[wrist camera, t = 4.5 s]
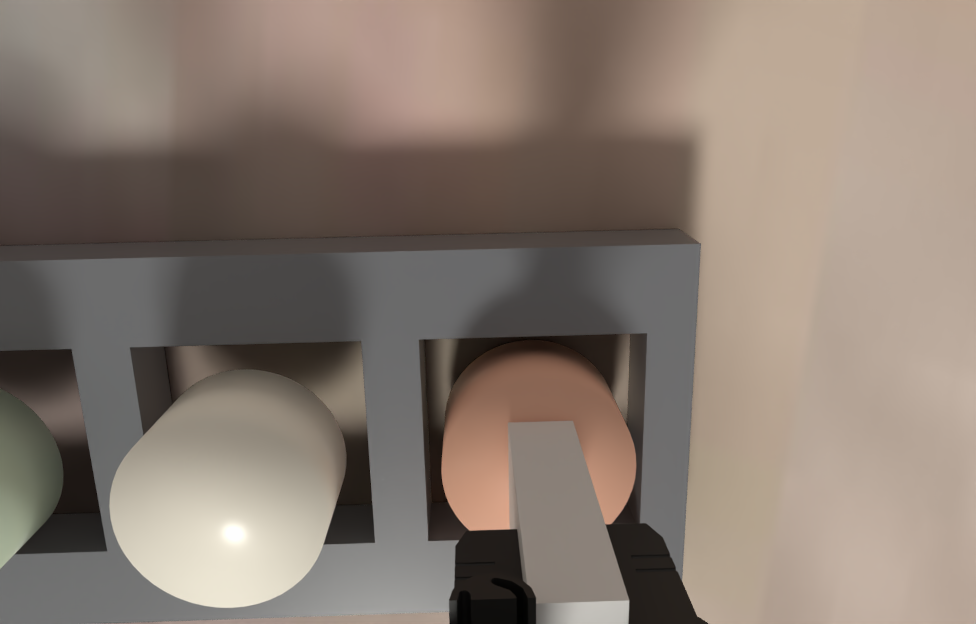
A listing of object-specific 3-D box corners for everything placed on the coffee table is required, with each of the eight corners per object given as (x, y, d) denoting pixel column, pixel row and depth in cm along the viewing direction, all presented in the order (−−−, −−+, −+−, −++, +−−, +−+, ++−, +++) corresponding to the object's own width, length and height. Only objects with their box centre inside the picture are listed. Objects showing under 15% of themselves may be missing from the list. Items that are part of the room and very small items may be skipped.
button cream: (172, 540, 20) (126, 610, 17) (146, 371, 19) (93, 419, 16) (352, 535, 20) (334, 604, 17) (339, 366, 19) (318, 413, 16)
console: (-86, 585, 23) (-136, 631, 21) (-173, 250, 20) (-239, 267, 18) (663, 561, 23) (680, 604, 21) (678, 229, 21) (700, 243, 19)
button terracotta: (447, 499, 22) (445, 558, 19) (441, 342, 20) (437, 381, 18) (613, 494, 22) (633, 551, 19) (617, 337, 21) (639, 375, 18)
